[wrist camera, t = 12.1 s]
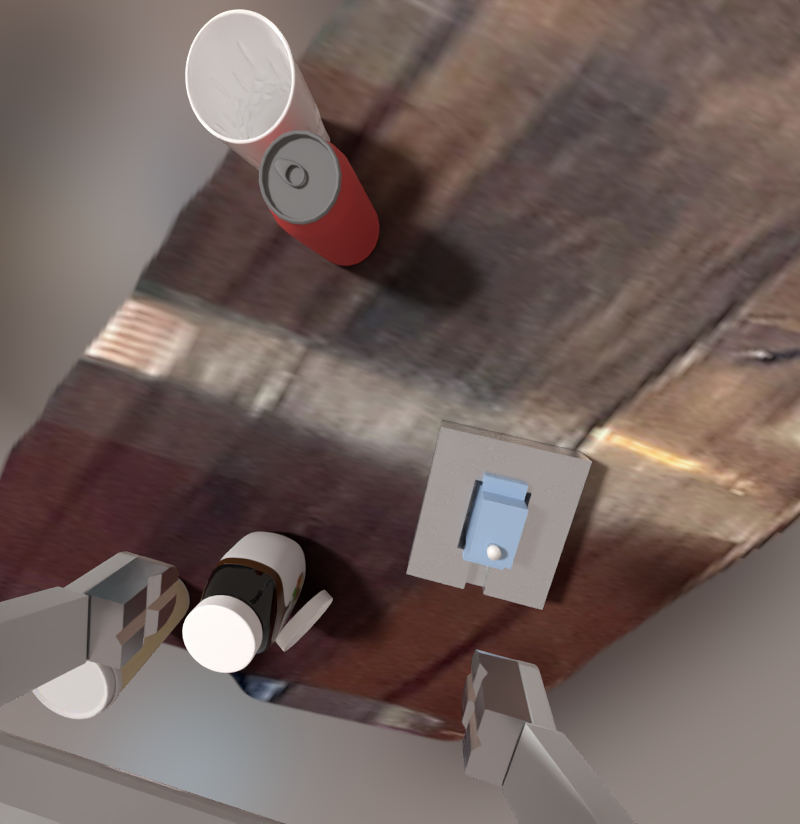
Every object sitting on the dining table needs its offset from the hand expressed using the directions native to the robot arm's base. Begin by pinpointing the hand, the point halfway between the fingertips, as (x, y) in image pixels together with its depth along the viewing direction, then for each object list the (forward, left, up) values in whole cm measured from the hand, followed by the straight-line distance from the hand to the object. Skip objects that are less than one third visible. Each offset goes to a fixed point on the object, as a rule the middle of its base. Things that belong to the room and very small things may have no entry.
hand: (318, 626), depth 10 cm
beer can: (+10, -16, -29) cm, 35 cm away
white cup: (+16, -22, -29) cm, 40 cm away
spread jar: (+10, +22, -29) cm, 38 cm away
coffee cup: (+26, +30, -29) cm, 49 cm away
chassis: (-10, +8, -29) cm, 32 cm away
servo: (-10, +8, -28) cm, 31 cm away
